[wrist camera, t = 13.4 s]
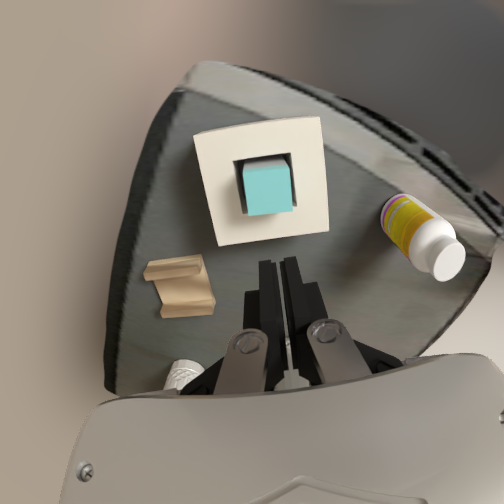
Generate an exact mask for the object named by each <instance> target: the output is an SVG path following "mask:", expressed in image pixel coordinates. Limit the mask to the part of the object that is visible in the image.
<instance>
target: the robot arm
mask: <svg viewBox="0 0 504 504" xmlns="http://www.w3.org/2000/svg"><path fill="white" fill-rule="evenodd" d="M280 269H281V277H282V285H283V293H284V301H285V310H286V317H287V325H288V333H289V338H285V330H284V322H283V313H282V305H281V297H280V290H279V282H278V275H277V268H276V262H274V263H271V260H265V261H259V290H253V291H246V292H245V299H244V318H243V330H241V331H239V332H237V333H236V334H234V335H233V336H232V337H231V339H230V341H229V343H228V347H227V350H226V353H225V356H224V357H223V358H221V359H220V360H219V361H217V362H216V363H215V364H213V365H212V366H211V367H209V368H208V369H207V370H205V371H204V372H203V373H201V374H200V375H199V376H197V377H196V378H194V379H193V380H192V381H190V382H189V383H187V384H186V385H185V386H184V387H183V389H181V390H177V388H172V389H166V390H160V391H154V392H148V393H141V394H134V395H131V396H126V397H119V398H116V399H112V400H108V401H105V402H103V403H101V404H99V405H97V406H96V407H94V408H93V410H92V411H91V412H90V413H89V415H88V416H87V418H86V419H85V421H84V423H83V425H82V427H81V430H80V432H79V434H78V436H77V439H76V442H75V445H74V447H73V450H72V453H71V456H70V459H69V463H68V466H67V470H66V474H65V478H64V482H63V486H62V490H61V494H60V500H59V504H504V374H503V373H502V372H501V370H500V369H499V368H498V366H497V365H496V364H495V363H494V362H493V361H492V360H491V359H489V358H488V357H486V356H484V355H481V354H475V353H457V354H441V355H432V356H422V357H411V358H405V361H400V360H399V359H397V358H396V357H394V356H391V355H389V354H386V353H384V352H382V351H379V350H377V349H374V348H372V347H370V346H367V345H365V344H363V343H360V342H358V341H356V340H353V339H352V337H351V336H350V334H349V332H348V331H347V329H346V327H345V326H344V325H343V324H342V323H341V322H340V321H338V320H335V319H329V318H328V315H327V312H326V309H325V305H324V302H323V299H322V296H321V293H320V290H319V287H318V284H317V282H312V283H305V284H303V283H302V279H301V275H300V271H299V267H298V263H297V259H296V256H294V257H287V258H284V261H281V262H280Z"/></svg>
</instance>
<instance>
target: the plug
mask: <svg viewBox="0 0 504 504" xmlns="http://www.w3.org/2000/svg"><path fill="white" fill-rule="evenodd" d="M243 180H244V187H245V194H246V201H247V208H248V215H249V216H253V215H262V214H272V213H281V212H291V211H293V206H292V193H291V180H290V169H289V167H288V165H287V163H286V162H285V160H284V158H283V157H282V155H281V154H274V155H267V156H260V157H253V158H247V159H245V163H244V168H243Z"/></svg>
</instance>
